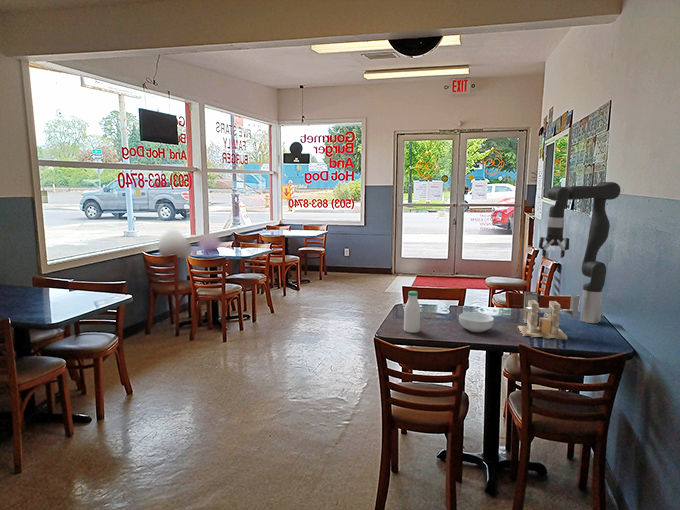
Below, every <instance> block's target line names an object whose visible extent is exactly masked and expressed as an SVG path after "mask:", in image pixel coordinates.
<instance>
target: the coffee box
mask: <svg viewBox="0 0 680 510" xmlns="http://www.w3.org/2000/svg"><path fill="white" fill-rule="evenodd" d="M540 299H541V295H540V293H538V291H524V299H523V314H522V321H523V320H524V321H523V322H524V324H525V323H527V314H528V312H526V307H528V301H529V300H535V301H536V302H537V303H538V304H539V305H540V301H541V300H540ZM538 315H539V313H538ZM538 322H539V320H538V321H537V324H538V325H539V323H538Z"/></svg>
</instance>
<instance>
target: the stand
mask: <svg viewBox="0 0 680 510" xmlns="http://www.w3.org/2000/svg"><path fill="white" fill-rule="evenodd" d="M528 307H531V312H528V314H527V324H526V325H517V329H518V328H519V330H520V331H521V332H520V331H519V330H518V331H519V332H520V334H521V333H522V334H523V335H522V334H521V335H522V336H531V337H530V338H533V337H543V338H542V339H550V338H556V339H555V340H565V341H566V340H568V335H566V333H565V332H563V331H562V329H560V326H559V325H560V309H561V304H560V303H559V302H557V300H549V303H548V308H552V313H547V314H548V315H547V316H548V317H547V318H549V319H550V320H551V331H550V333H542V332H541V331H540V330H539V326H538V325H537V321H538V322H539V314H538V308H540V303H539V304H538V303H537V302H536V301H535V300H529V301H528Z"/></svg>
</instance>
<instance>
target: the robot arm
mask: <svg viewBox="0 0 680 510" xmlns="http://www.w3.org/2000/svg"><path fill="white" fill-rule="evenodd" d="M620 194H621V187H620V185H619V183H617V182H613V181H600V182H598V183H597V184H596V185H571V186H553V187H550V188H549V189H548V190H547V198H548V199H549V200H551V201H555V203H554V205H551V206H550V207H549V213H548V220H547V229H546V237H544V236H540V238H539V241H538V248H539V249H540V250H541V251H542V252H541V256H542V257H543V258H547V257H546V256H547V249H548V248H549V247H550V246H551V247H559V248H560V249H561V250H560V258H561V259H563V258H564V257H565V253H566V251H568V250H570V238H569V237H564V227H565V209H566V207H567V205H568V201H573V200H574V201H575V200H586V199H587V200H588V199H593V201H592V202H593V203H592V212H591V213H592V214H591V221H590V224H589V225H590V226H589V230H588V231H589V232H588V238H587V245H586V249H585V252H584V255H583V260H582V263H581V273H582V275H583V276H584V277H587V278H590V281H589V282H588V283H584V284H583V286H582V295H581V297H582V298H581V307H580V317H579V318H580V319H579V320H580V321H581V322H584V323H588V324H600V323H601V321H602V319H601V318H602V311H603V306H602V297H603V295H602V294H603V289H604V286H605V284H606V283H605V282H606V277H607V266H606V264H605V263H604V262H602V261H598V260H597V256H598V253H599V250H601V247H602V246H603V245H604V244H605V242H606V241H607V240H608V237H609V234H610V233H609V232H610V228H611V225H610V220H609V217H608V215H607V213H606V203H607V201H608V200H609V201H611V200H614V199H617V198H618V197H619V196H620ZM545 241H546V243H545V244H544V242H545ZM563 241H564V245H563ZM543 244H544V245H543ZM599 322H600V323H599Z"/></svg>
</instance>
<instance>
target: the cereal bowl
mask: <svg viewBox="0 0 680 510" xmlns="http://www.w3.org/2000/svg"><path fill="white" fill-rule="evenodd" d="M494 320H495V318H494V317H493V316H492V315H489V314H486V313H483V312H475V311H473V312H472V311H467V312H462V313H459V314H458V322H459V324H460V326H462V327H463V328H464V329H466V330H468V331H469V332H472V333H482V332H485V331H488V330H490V329H491V328H492V327H493V325H494Z"/></svg>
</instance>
